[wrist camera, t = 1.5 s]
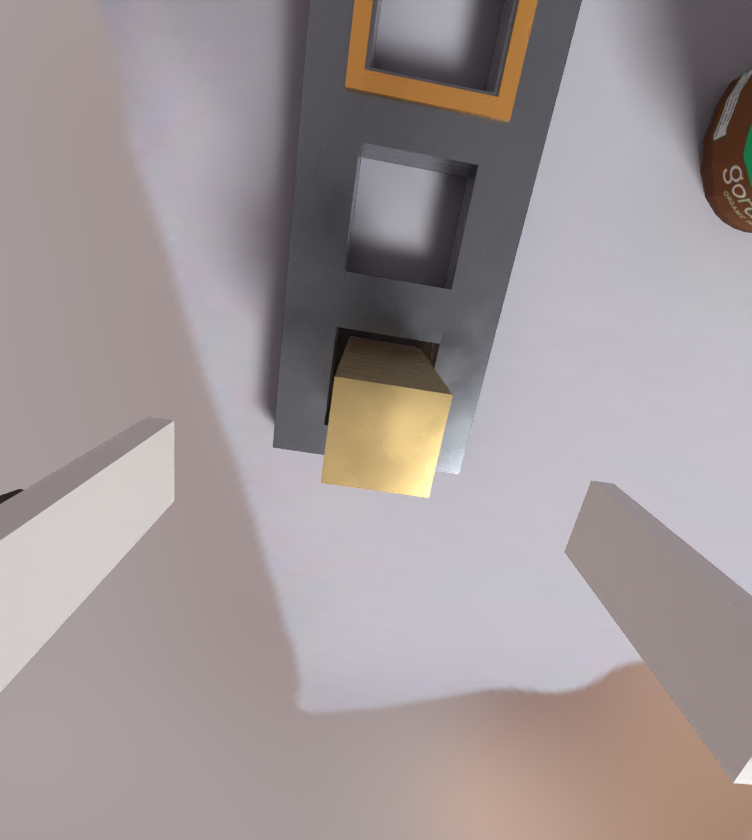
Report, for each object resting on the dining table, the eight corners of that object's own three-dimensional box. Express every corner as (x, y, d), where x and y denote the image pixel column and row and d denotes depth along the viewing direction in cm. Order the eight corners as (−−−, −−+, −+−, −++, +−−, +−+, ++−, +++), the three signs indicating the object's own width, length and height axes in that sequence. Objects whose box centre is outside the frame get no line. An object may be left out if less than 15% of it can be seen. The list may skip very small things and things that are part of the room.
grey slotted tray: (331, -135, 18) (325, -204, 15) (584, -75, 19) (617, -131, 16) (281, 432, 27) (272, 448, 25) (451, 457, 28) (459, 475, 25)
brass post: (350, 336, 25) (334, 376, 15) (419, 347, 25) (452, 394, 15) (340, 403, 26) (320, 482, 16) (406, 413, 27) (428, 497, 16)
